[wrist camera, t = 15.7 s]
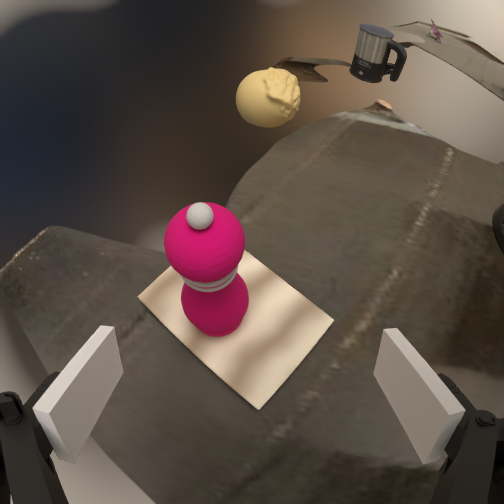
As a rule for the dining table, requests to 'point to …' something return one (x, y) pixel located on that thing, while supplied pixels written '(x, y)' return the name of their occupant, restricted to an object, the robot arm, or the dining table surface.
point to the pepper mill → (209, 266)
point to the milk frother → (376, 55)
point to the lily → (435, 31)
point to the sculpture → (268, 97)
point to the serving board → (247, 330)
